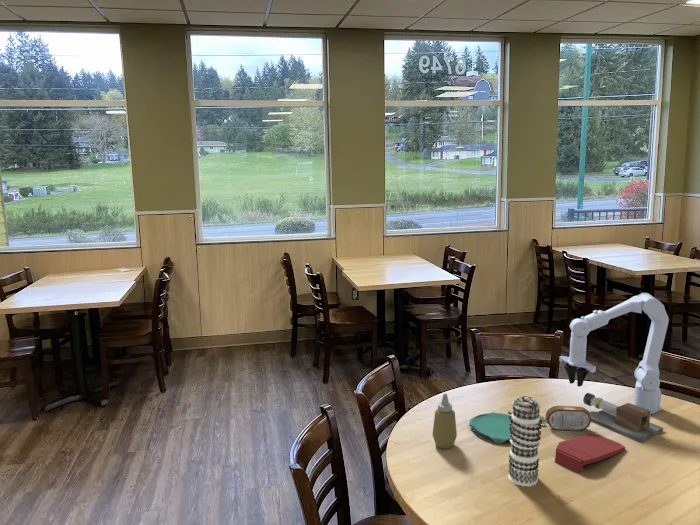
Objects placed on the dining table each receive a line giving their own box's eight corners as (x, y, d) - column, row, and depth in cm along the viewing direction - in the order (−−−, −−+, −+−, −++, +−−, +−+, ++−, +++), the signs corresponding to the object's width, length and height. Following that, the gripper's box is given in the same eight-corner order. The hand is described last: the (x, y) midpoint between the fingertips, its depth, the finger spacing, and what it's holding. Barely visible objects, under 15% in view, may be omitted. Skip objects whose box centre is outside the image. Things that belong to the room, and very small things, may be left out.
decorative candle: (535, 490, 157) (539, 409, 153) (503, 481, 162) (505, 402, 158) (542, 475, 165) (546, 397, 160) (511, 467, 170) (514, 390, 165)
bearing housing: (609, 409, 207) (610, 391, 206) (662, 430, 191) (664, 411, 189) (586, 419, 200) (587, 400, 199) (639, 442, 183) (641, 422, 182)
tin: (588, 428, 194) (590, 405, 192) (591, 432, 191) (593, 409, 189) (544, 426, 195) (545, 404, 194) (546, 431, 192) (547, 408, 191)
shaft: (590, 402, 208) (590, 391, 208) (635, 420, 193) (636, 409, 193) (582, 405, 206) (583, 394, 205) (628, 423, 191) (629, 412, 190)
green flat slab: (458, 425, 197) (458, 419, 197) (519, 408, 212) (519, 402, 211) (497, 450, 180) (498, 444, 180) (561, 430, 194) (561, 423, 194)
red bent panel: (589, 446, 189) (548, 459, 174) (591, 432, 189) (550, 444, 173) (625, 460, 180) (584, 476, 164) (627, 446, 179) (587, 460, 164)
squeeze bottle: (459, 441, 186) (460, 391, 183) (453, 452, 179) (454, 401, 175) (436, 436, 189) (436, 387, 186) (429, 448, 182) (429, 396, 179)
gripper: (554, 347, 212) (553, 380, 214) (588, 358, 200) (586, 393, 202) (566, 343, 216) (564, 376, 218) (600, 354, 204) (597, 388, 206)
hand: (575, 384), depth 210 cm, fingers open, 3 cm apart
